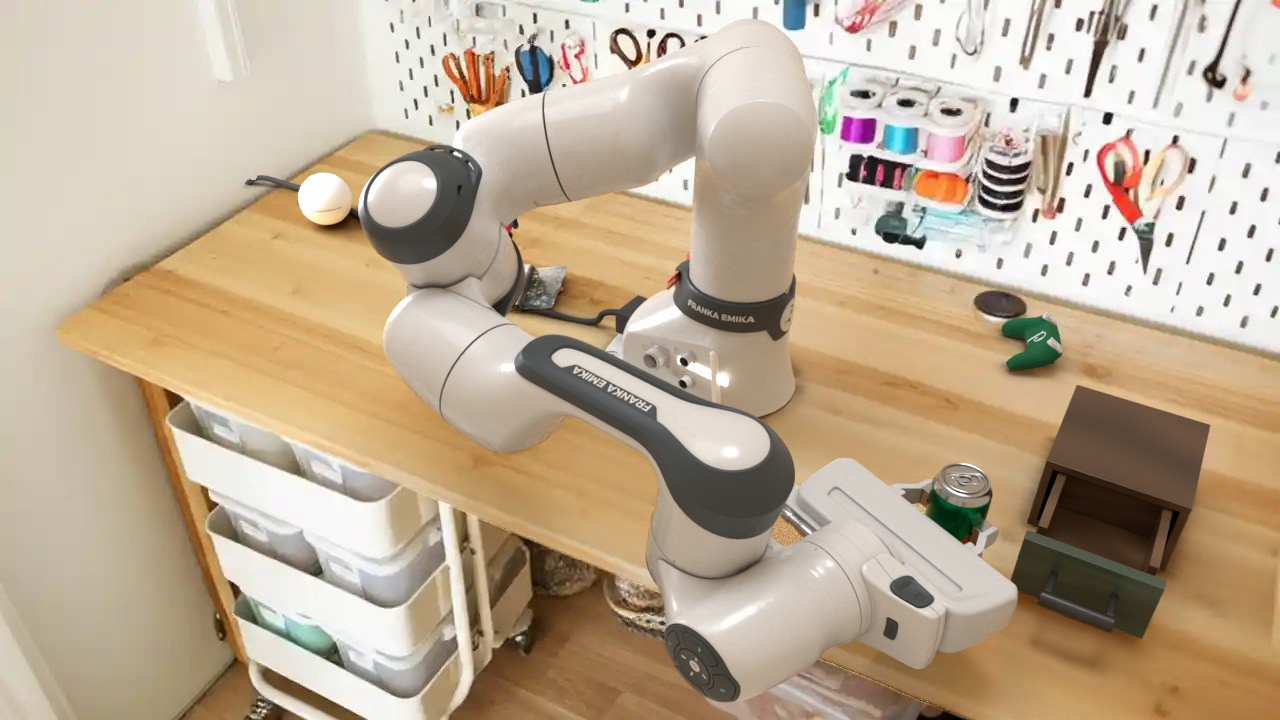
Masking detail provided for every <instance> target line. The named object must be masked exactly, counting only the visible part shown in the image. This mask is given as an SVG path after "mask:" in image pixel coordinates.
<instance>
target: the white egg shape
mask: <svg viewBox="0 0 1280 720" xmlns="http://www.w3.org/2000/svg"><path fill="white" fill-rule="evenodd" d="M300 185H301V188H300V190H298V194H297V200H296V201H297V203H296V204H297V205H299V208H300V210H301V212H302V214H303V216H305V218H307V219H308V220H310V221H311V222H313V223H314V224H316V225H321V226H331V225H336V224H338V223H340V222H342V221H344V219H345V218H346V217H347V216H348V215H349V214H350V213H349V211H350V209H351V207H352V204H353V194H352V191H351V189H350V187H349V185H348V184H347V183H346V182H345V181H344V179H342V178H341V177H340V176H337V175H336V174H334V173H329V172H318V173H315V174H312V175H310V176H308V177H307V178H306V179H305V180H304V182H302V184H300Z"/></svg>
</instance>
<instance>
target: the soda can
mask: <svg viewBox="0 0 1280 720" xmlns="http://www.w3.org/2000/svg"><path fill="white" fill-rule="evenodd" d="M932 480H933V481H932V485H931V489H930V493H929V498H928V502H927V506H926V507H925V511H924V514H925V515H926V516H928V517H929V518H930V519H931V520H933V521H934V522H935V523H937V524H938V525H939V526H940V527H942V528H943V529H944V530H946V531H947V532H948V533H949V534H951V535H952V536H953V537H955V538H956V539H957V540H958V541H960V542H961V543H962V544H964V545H965V544H967V543H968V542H970V541H969V538H970V535H972V532H971V531H972V528H973V526H974V525H977V524H979V523H981V522H983V521H984V520H986V521H987V517H988V515H989V510H990V508H991V504H992V501H993V494H994V493H993V488H992V487H991V485H992V484H991V479H990V477H989V476H988V474H987V473H986V472H985V471H984V470H983V469H981V468H979V467H977V466H975V465H973V464H970V463H965V462H952V463H948V464H945V465H944V466H943V467H942V468H941V469H939V472H938V473H937V474H935V476H934V477H933V479H932ZM974 546H975V545H974Z"/></svg>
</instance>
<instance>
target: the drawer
mask: <svg viewBox="0 0 1280 720" xmlns="http://www.w3.org/2000/svg"><path fill="white" fill-rule="evenodd" d="M1172 513H1173V509H1170V508H1167V507H1164V506H1161V505H1158V504H1155V503H1152V502H1149V501H1146V500H1143V499H1140V498H1137V497H1134V496H1131V495H1128V494H1125V493H1122V492H1119V491H1116V490H1113V489H1110V488H1107V487H1104V486H1101V485H1098V484H1095V483H1092V482H1089V481H1086V480H1083V479H1080V478H1077V477H1075V476H1072V475H1069V474H1066V473H1063V472H1060V471H1059V472H1058V475H1057V478H1056V480H1055V483H1054V485H1053V488H1052V491H1051V493H1050V496H1049V498H1048V501H1047V504H1046V506H1045V509H1044V512H1043V514H1042V517H1041V519H1040V522H1039V525H1038V526H1037V528H1036V531H1035V532H1034V531H1031V530H1029V529H1027V530H1026V532H1025V534H1024V537H1023V540H1022V542H1021V546H1020V549H1019V552H1018V556H1017V558H1016V562H1015V565H1014V568H1013V571H1012V573H1011V576H1010V579H1009V580H1010V581H1011V582H1013V583H1014V584H1015V585H1016V587H1017V589H1018V593H1021V594H1024V595H1027V596H1029V597H1031V598H1034V599H1037V602H1036V606H1038V607H1041V608H1043V609H1046V610H1049V611H1051V612H1053V613H1056V614H1059V615H1061V616H1064V617H1066V618H1069V619H1071V620H1074V621H1077V622H1079V623H1082V624H1085V625H1087V626H1090V627H1092V628H1095V629H1096V630H1099V631H1102V632H1105V633H1108V634H1111V633H1112V632H1113V630H1117V631H1120V632H1123V633H1125V634H1127V635H1130V636H1133V637H1135V638H1138V639H1140V640H1143V639H1144V636H1145V634H1146V632H1147V629H1148V627H1149V625H1150V623H1151V621H1152V619H1153V616H1154V614H1155V612H1156V610H1157V607H1158V605H1159V603H1160V600H1161V598H1162V596H1163V594H1164V591H1165V588H1166V585H1167V579H1165V578H1161V577H1159V576H1157V574H1158V572H1159V571H1160V570H1159V567H1160V563H1161V559H1162V555H1163V551H1164V547H1165V542H1166V538H1167V534H1168V530H1169V526H1170V521H1171V517H1172Z"/></svg>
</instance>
